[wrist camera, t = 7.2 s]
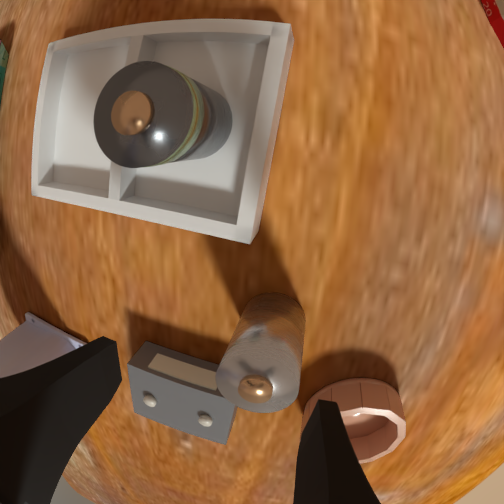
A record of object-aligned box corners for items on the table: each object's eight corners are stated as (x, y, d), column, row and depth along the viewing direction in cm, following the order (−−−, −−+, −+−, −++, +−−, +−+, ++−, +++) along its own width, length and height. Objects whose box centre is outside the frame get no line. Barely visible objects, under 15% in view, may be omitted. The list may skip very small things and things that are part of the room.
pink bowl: (292, 431, 22) (288, 458, 19) (321, 369, 19) (320, 400, 17) (374, 442, 21) (377, 467, 18) (417, 384, 18) (425, 412, 16)
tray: (53, 188, 19) (31, 195, 17) (70, 48, 15) (49, 43, 13) (258, 231, 17) (249, 244, 15) (294, 40, 13) (290, 23, 11)
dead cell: (238, 337, 20) (209, 405, 14) (248, 285, 18) (217, 349, 12) (296, 351, 19) (286, 425, 13) (312, 300, 18) (309, 372, 12)
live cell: (155, 152, 16) (79, 160, 10) (171, 83, 14) (99, 58, 8) (223, 167, 15) (168, 180, 9) (241, 93, 14) (196, 60, 8)
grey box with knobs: (149, 390, 24) (132, 415, 21) (145, 339, 22) (124, 365, 18) (234, 418, 23) (224, 448, 20) (246, 370, 21) (234, 403, 17)
